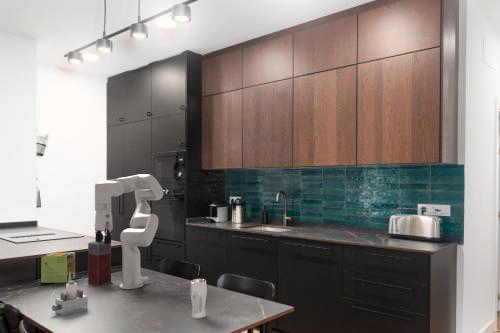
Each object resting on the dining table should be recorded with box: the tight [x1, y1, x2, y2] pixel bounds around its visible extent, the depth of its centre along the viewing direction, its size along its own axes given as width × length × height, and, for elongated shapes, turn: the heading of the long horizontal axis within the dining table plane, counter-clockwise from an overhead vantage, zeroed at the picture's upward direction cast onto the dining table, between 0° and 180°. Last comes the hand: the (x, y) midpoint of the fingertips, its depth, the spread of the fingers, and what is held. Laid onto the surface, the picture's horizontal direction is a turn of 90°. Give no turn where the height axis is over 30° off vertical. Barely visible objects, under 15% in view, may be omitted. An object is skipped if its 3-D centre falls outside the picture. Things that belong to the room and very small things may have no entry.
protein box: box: [40, 251, 76, 284], centre depth 229 cm, size 10×15×16 cm
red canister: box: [87, 233, 112, 286], centre depth 223 cm, size 9×11×28 cm
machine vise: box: [51, 288, 89, 317], centre depth 173 cm, size 13×8×8 cm, turn 135°
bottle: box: [65, 280, 78, 299], centre depth 174 cm, size 4×4×7 cm
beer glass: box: [189, 278, 208, 320], centre depth 165 cm, size 7×7×15 cm
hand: (103, 242), depth 188 cm, fingers open, 9 cm apart
